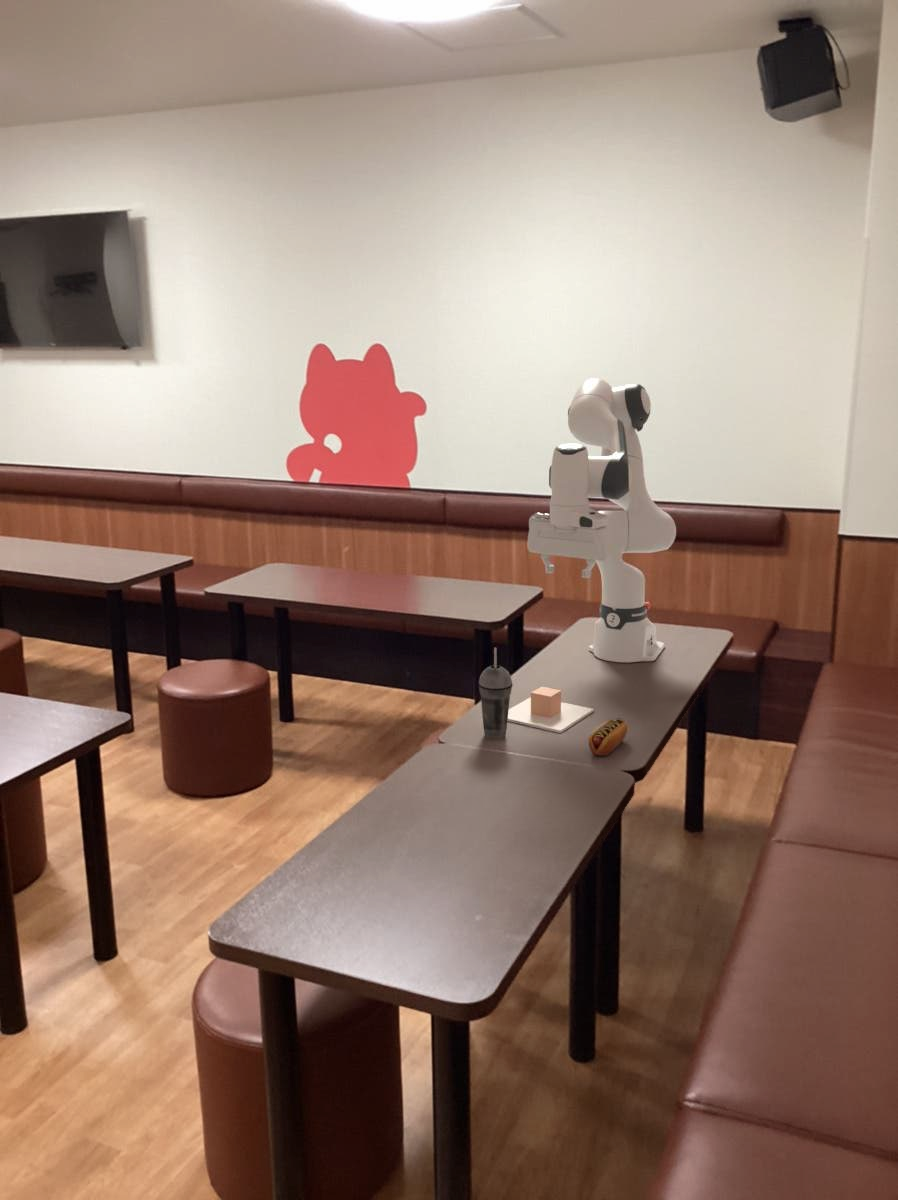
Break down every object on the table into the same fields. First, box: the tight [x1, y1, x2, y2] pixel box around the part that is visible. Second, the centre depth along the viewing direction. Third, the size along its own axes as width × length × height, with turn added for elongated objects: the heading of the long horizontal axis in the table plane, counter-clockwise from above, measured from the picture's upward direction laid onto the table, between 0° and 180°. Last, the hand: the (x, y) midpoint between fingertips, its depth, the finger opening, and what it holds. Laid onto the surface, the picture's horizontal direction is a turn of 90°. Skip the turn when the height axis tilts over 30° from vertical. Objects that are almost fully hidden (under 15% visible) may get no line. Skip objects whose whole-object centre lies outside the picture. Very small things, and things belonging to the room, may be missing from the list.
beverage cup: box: [477, 647, 514, 741], centre depth 221 cm, size 7×7×20 cm
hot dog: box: [588, 717, 628, 756], centre depth 216 cm, size 5×13×5 cm, turn 149°
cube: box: [530, 686, 562, 718], centre depth 234 cm, size 5×5×5 cm
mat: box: [507, 696, 595, 734], centre depth 235 cm, size 16×16×1 cm
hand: (567, 575), depth 242 cm, fingers open, 8 cm apart
